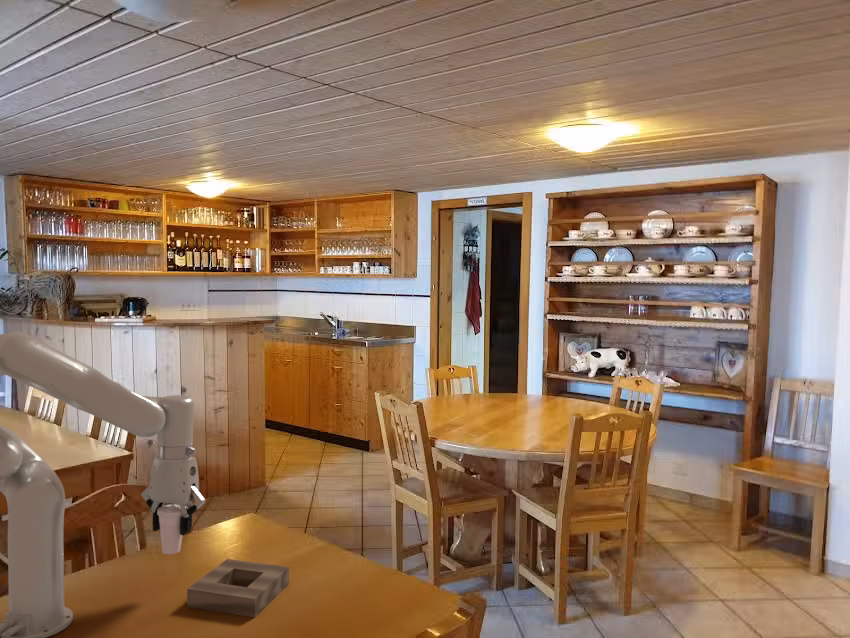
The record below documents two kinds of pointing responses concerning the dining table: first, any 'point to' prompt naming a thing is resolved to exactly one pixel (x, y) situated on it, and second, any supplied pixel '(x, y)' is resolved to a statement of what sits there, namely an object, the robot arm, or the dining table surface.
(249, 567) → the bottle stand
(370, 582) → the dining table surface
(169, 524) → the smoothie
